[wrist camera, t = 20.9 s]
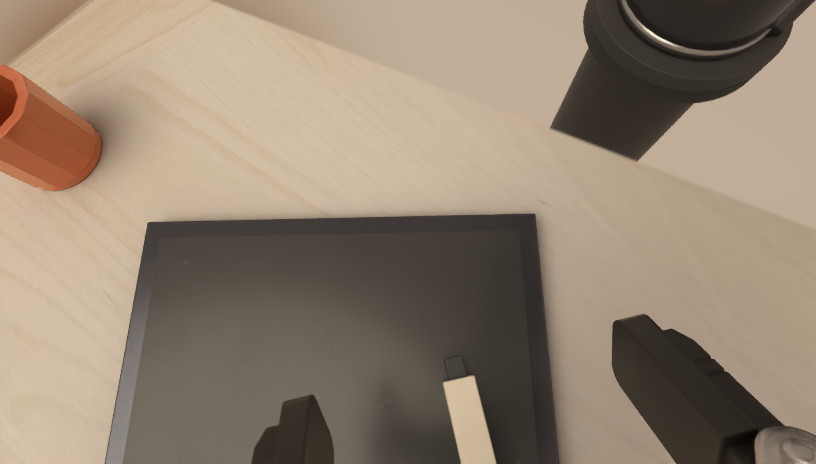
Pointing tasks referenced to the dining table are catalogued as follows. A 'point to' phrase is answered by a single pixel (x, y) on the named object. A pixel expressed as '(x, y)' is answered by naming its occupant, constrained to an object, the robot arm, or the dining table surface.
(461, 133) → the dining table surface
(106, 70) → the dining table surface
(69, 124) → the pen pot
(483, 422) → the stylus
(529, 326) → the tablet
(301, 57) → the dining table surface
